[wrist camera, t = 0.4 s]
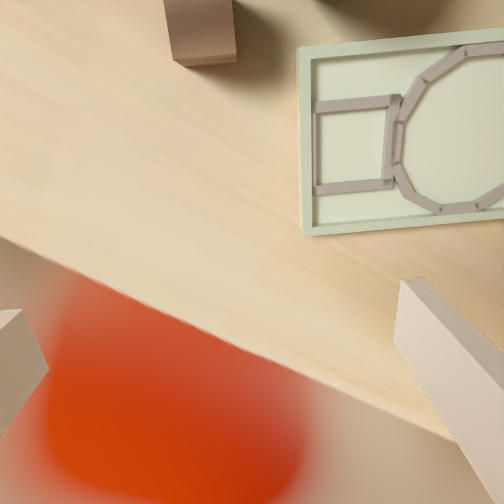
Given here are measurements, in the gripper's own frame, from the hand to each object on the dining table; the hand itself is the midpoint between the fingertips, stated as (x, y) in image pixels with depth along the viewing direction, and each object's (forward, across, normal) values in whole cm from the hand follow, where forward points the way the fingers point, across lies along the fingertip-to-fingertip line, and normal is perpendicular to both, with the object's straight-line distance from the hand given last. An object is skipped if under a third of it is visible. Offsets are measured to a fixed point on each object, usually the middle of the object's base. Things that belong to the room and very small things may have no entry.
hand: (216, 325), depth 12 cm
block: (+26, -1, +13) cm, 29 cm away
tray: (+26, +20, +2) cm, 33 cm away
